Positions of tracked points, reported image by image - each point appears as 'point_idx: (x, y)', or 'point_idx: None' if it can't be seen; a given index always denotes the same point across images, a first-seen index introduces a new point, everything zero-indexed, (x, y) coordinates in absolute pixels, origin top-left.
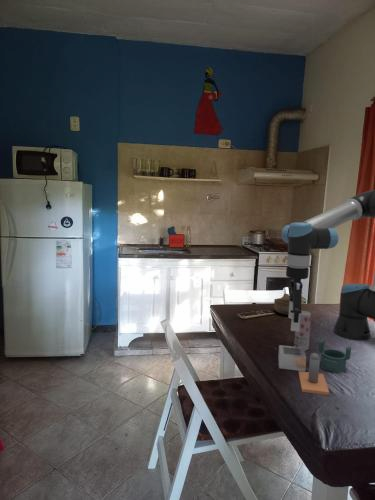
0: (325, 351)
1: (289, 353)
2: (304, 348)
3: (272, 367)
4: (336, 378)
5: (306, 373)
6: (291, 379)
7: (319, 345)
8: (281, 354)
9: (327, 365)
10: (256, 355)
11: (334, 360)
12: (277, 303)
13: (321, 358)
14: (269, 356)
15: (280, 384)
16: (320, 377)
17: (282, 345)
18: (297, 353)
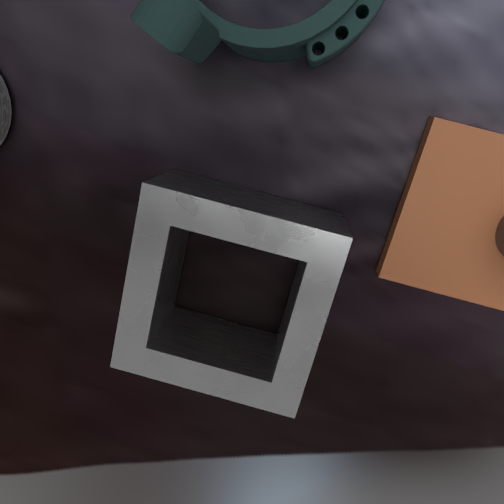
0: None
1: (168, 284)
2: (1, 98)
3: None
4: (462, 18)
5: (417, 238)
6: (443, 338)
7: (190, 52)
8: (285, 404)
9: (353, 42)
10: (126, 438)
11: None
12: None
13: (249, 53)
14: None
15: (495, 417)
16: (483, 160)
17: (115, 344)
18: (179, 232)
